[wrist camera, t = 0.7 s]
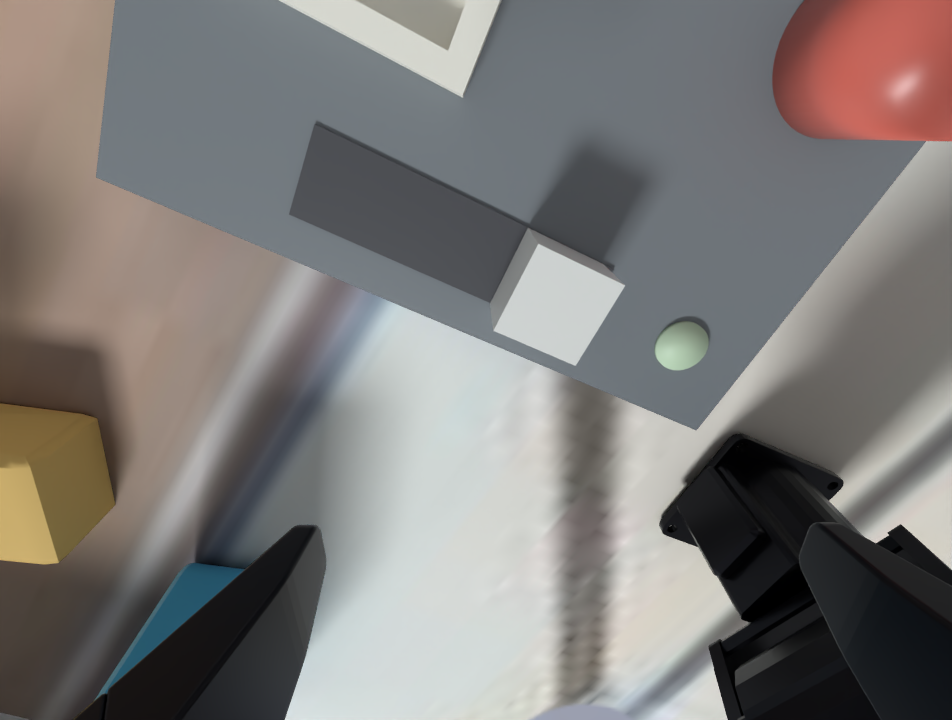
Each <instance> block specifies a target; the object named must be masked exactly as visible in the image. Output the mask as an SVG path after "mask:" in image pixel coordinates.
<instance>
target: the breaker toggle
mask: <svg viewBox="0 0 952 720" xmlns="http://www.w3.org/2000/svg"><path fill="white" fill-rule="evenodd" d="M624 287H625V285H624V284H623V283H622V282H621V281H620V280H619V279H618V278H617V277H616V276H615V275H614V274H613V273H612V272H611V271H610V270H609V269H608V268H607V267H606V266H605V265H604V264H602V263H600V262H598V261H596V260H594V259H592V258H590V257H588V256H586V255H584V254H581V253H579V252H577V251H575V250H573V249H571V248H569V247H567V246H565V245H563V244H561V243H559V242H557V241H555V240H553V239H550V238H548V237H546V236H544V235H542V234H540V233H538V232H536V231H534V230H532V229H530V228H528V229H527V231H526V233H525V235H524V237H523V239H522V241H521V243H520V245H519V247H518V249H517V251H516V253H515V255H514V257H513V259H512V261H511V263H510V265H509V267H508V269H507V271H506V273H505V275H504V277H503V279H502V281H501V283H500V285H499V287H498V289H497V291H496V293H495V295H494V297H493V299H492V301H491V303H490V308H491V316H492V324H493V331H495V332H497V333H500V334H502V335H504V336H507V337H509V338H511V339H514V340H516V341H518V342H521V343H523V344H525V345H528V346H530V347H532V348H535V349H537V350H539V351H542V352H544V353H546V354H549V355H551V356H553V357H556V358H558V359H560V360H563V361H565V362H568V363H570V364H572V365H575V366H576V364H577V363H578V361H579V360H580V358H581V356H582V355H583V353H584V352H585V350H586V348H587V347H588V345H589V343H590V342H591V340H592V339H593V337H594V335H595V334H596V332H597V331H598V329H599V327H600V326H601V324H602V322H603V321H604V319H605V318H606V316H607V314H608V313H609V311H610V310H611V308H612V306H613V305H614V303H615V301H616V300H617V298H618V297H619V295H620V293H621V292H622V290H623V288H624Z"/></svg>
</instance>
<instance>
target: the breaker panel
mask: <svg viewBox="0 0 952 720" xmlns="http://www.w3.org/2000/svg"><path fill="white" fill-rule="evenodd" d="M803 2H804V0H115V7H114V16H113V26H112V35H111V44H110V53H109V63H108V72H107V81H106V90H105V99H104V109H103V118H102V127H101V136H100V146H99V155H98V164H97V173H96V178H99V179H101V180H104V181H106V182H108V183H111V184H113V185H115V186H118V187H120V188H123V189H125V190H127V191H130V192H132V193H134V194H137V195H139V196H142V197H144V198H146V199H149V200H151V201H153V202H156V203H158V204H161V205H163V206H165V207H168V208H170V209H172V210H175V211H177V212H179V213H182V214H184V215H187V216H189V217H191V218H194V219H196V220H198V221H201V222H203V223H206V224H208V225H210V226H213V227H215V228H217V229H220V230H222V231H225V232H227V233H229V234H232V235H234V236H236V237H239V238H241V239H244V240H246V241H248V242H251V243H253V244H255V245H258V246H260V247H263V248H265V249H267V250H270V251H272V252H274V253H277V254H279V255H282V256H284V257H286V258H289V259H291V260H293V261H296V262H298V263H300V264H303V265H305V266H308V267H310V268H312V269H315V270H317V271H319V272H322V273H324V274H327V275H329V276H331V277H334V278H336V279H338V280H341V281H343V282H346V283H348V284H350V285H353V286H355V287H357V288H360V289H362V290H365V291H367V292H369V293H372V294H374V295H376V296H379V297H381V298H384V299H386V300H388V301H391V302H393V303H395V304H398V305H400V306H403V307H405V308H407V309H410V310H412V311H414V312H417V313H419V314H421V315H424V316H426V317H429V318H431V319H433V320H436V321H438V322H440V323H443V324H445V325H448V326H450V327H452V328H455V329H457V330H459V331H462V332H464V333H467V334H469V335H471V336H474V337H476V338H478V339H481V340H483V341H486V342H488V343H490V344H493V345H495V346H497V347H500V348H502V349H505V350H507V351H509V352H512V353H514V354H516V355H519V356H521V357H524V358H526V359H528V360H531V361H533V362H535V363H538V364H540V365H542V366H545V367H547V368H550V369H552V370H554V371H557V372H559V373H561V374H564V375H566V376H569V377H571V378H573V379H576V380H578V381H580V382H583V383H585V384H588V385H590V386H592V387H595V388H597V389H599V390H602V391H604V392H607V393H609V394H611V395H614V396H616V397H618V398H621V399H623V400H626V401H628V402H630V403H633V404H635V405H637V406H640V407H642V408H645V409H647V410H649V411H652V412H654V413H656V414H659V415H661V416H663V417H666V418H668V419H671V420H673V421H675V422H678V423H680V424H682V425H685V426H687V427H690V428H692V429H694V430H697V429H698V428H699V426H700V425H701V424H702V423H703V421H704V420H705V419H706V418H707V416H708V415H709V414H710V413H711V411H712V410H713V409H714V408H715V406H716V405H717V404H718V403H719V401H720V400H721V399H722V398H723V396H724V395H725V394H726V392H727V391H728V390H729V389H730V387H731V386H732V385H733V384H734V382H735V381H736V380H737V379H738V377H739V376H740V375H741V374H742V372H743V371H744V370H745V369H746V367H747V366H748V365H749V364H750V362H751V361H752V360H753V358H754V357H755V356H756V355H757V353H758V352H759V351H760V350H761V348H762V347H763V346H764V345H765V343H766V342H767V341H768V340H769V338H770V337H771V336H772V335H773V333H774V332H775V331H776V330H777V328H778V327H779V326H780V325H781V323H782V322H783V321H784V319H785V318H786V317H787V316H788V314H789V313H790V312H791V311H792V309H793V308H794V307H795V306H796V304H797V303H798V302H799V301H800V299H801V298H802V297H803V296H804V294H805V293H806V292H807V291H808V289H809V288H810V287H811V285H812V284H813V283H814V282H815V280H816V279H817V278H818V277H819V275H820V274H821V273H822V272H823V270H824V269H825V268H826V267H827V265H828V264H829V263H830V262H831V260H832V259H833V258H834V257H835V255H836V254H837V253H838V251H839V250H840V249H841V248H842V246H843V245H844V244H845V243H846V241H847V240H848V239H849V238H850V236H851V235H852V234H853V233H854V231H855V230H856V229H857V228H858V226H859V225H860V224H861V223H862V221H863V220H864V219H865V218H866V216H867V215H868V214H869V212H870V211H871V210H872V209H873V207H874V206H875V205H876V204H877V202H878V201H879V200H880V199H881V197H882V196H883V195H884V194H885V192H886V191H887V190H888V189H889V187H890V186H891V185H892V184H893V182H894V181H895V180H896V178H897V177H898V176H899V175H900V173H901V172H902V171H903V170H904V168H905V167H906V166H907V165H908V163H909V162H910V161H911V160H912V158H913V157H914V156H915V155H916V153H917V152H918V151H919V150H920V148H921V147H922V146H923V144H924V143H925V142H926V141H903V140H840V139H816V138H811V137H808V136H805V135H803V134H801V133H798V132H797V131H795V130H794V129H793V128H791V127H790V126H789V125H788V124H787V123H786V121H785V120H784V119H783V117H782V116H781V114H780V112H779V110H778V108H777V106H776V102H775V99H774V94H773V87H772V74H773V64H774V60H775V55H776V51H777V48H778V45H779V42H780V40H781V37H782V35H783V33H784V30H785V28H786V27H787V25H788V23H789V21H790V19H791V18H792V16H793V15H794V13H795V12H796V10H797V9H798V8H799V6H800V5H801V4H802V3H803ZM528 228H530V229H532V230H534V231H536V232H538V233H540V234H542V235H544V236H546V237H548V238H550V239H553V240H555V241H557V242H559V243H561V244H563V245H565V246H567V247H569V248H571V249H573V250H575V251H577V252H579V253H581V254H584V255H586V256H588V257H590V258H592V259H594V260H596V261H598V262H600V263H602V264H604V265H605V266H606V267H607V268H608V269H609V270H610V271H611V272H612V273H613V274H614V275H615V276H616V277H617V278H618V279H619V280H620V281H621V282H622V283H623V284H624V285H625V287H624V288H623V290H622V292H621V293H620V295H619V297H618V298H617V300H616V301H615V303H614V305H613V306H612V308H611V310H610V311H609V313H608V314H607V316H606V318H605V319H604V321H603V322H602V324H601V326H600V327H599V329H598V331H597V332H596V334H595V335H594V337H593V339H592V340H591V342H590V343H589V345H588V347H587V348H586V350H585V352H584V353H583V355H582V356H581V358H580V360H579V361H578V363H577V364H576V366H575V365H572V364H570V363H568V362H565V361H563V360H560V359H558V358H556V357H553V356H551V355H549V354H546V353H544V352H542V351H539V350H537V349H535V348H532V347H530V346H528V345H525V344H523V343H521V342H518V341H516V340H514V339H511V338H509V337H507V336H504V335H502V334H500V333H497V332H495V331H493V324H492V316H491V308H490V303H491V301H492V299H493V297H494V295H495V293H496V291H497V289H498V287H499V285H500V283H501V281H502V279H503V277H504V275H505V273H506V271H507V269H508V267H509V265H510V263H511V261H512V259H513V257H514V255H515V253H516V251H517V249H518V247H519V245H520V243H521V241H522V239H523V237H524V235H525V233H526V231H527V229H528Z"/></svg>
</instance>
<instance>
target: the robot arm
mask: <svg viewBox="0 0 952 720" xmlns="http://www.w3.org/2000/svg"><path fill="white" fill-rule="evenodd" d="M741 443H742V445H740V446H738V445H739V444H741ZM737 446H738V447H737ZM842 487H843V480H842V479H841V478H840V477H839V476H838V475H836V474H835V473H833V472H831V471H829V470H826V469H824V468H822V467H819V466H817V465H815V464H812V463H810V462H808V461H805V460H803V459H801V458H798V457H796V456H794V455H791V454H789V453H787V452H784V451H782V450H780V449H777V448H775V447H773V446H770V445H768V444H766V443H764V442H761V441H759V440H757V439H754V438H752V437H750V436H747V435H745V434H736V435H733V436H732V437H731V438H729V439H728V441H727V442H726V443H725V444H724V445H723V447H722V448H721V449H720V450H719V451H718V453H717V454H716V455H715V456H714V457H713V459H712V460H711V461H710V462H709V463H708V464H707V466H706V467H705V468H704V469H703V470H702V472H701V473H700V474H699V475H698V476H697V478H696V479H695V480H694V481H693V482H692V484H691V485H690V486H689V487H688V488H687V490H686V491H685V492H684V493H683V494H682V496H681V497H680V498H679V499H678V500H677V501H676V503H675V504H674V505H673V506H672V507H671V509H670V510H669V511H668V512H667V513H666V515H665V516H664V517H663V518H662V519H661V521H660V523H659V526H660V528H661V530H662V532H663V534H665V535H666V536H669V537H672V538H675V539H677V540H680V541H683V542H686V543H688V544H691V545H694V546H697V547H699V549H700V551H701V552H702V554H703V556H704V558H705V560H706V561H707V563H708V565H709V567H710V569H711V570H712V572H713V574H714V575H716V576H717V577H718V579H719V580H720V582H721V584H722V586H723V587H724V589H725V591H726V593H727V595H728V596H729V598H730V600H731V602H732V603H733V605H734V607H735V609H736V611H737V612H738V614H739V616H740V618H741V619H742V620H744V621H747V622H748V623H749V624H747V625H746V626H744V627H743V628H741V629H739V630H738V631H736V632H735V633H733V634H731V635H730V636H728V637H727V638H725V639H723V640H721V639H718V640H717V641H715V642H714V643H712V644H710V645H709V651H710V655H711V658H712V662H713V666H714V671H715V675H716V678H717V682H718V686H719V689H720V693H721V697H722V700H723V704H724V708H725V711H726V715H727V718H728V720H952V570H951V569H950V568H949V567H948V566H947V565H946V564H945V563H944V562H942V561H941V560H940V559H939V558H938V557H937V556H936V555H935V554H933V553H932V552H931V551H930V550H929V549H928V548H927V547H926V546H925V545H923V544H922V543H921V542H920V541H919V540H918V539H917V538H916V537H914V536H913V535H912V534H911V533H910V532H909V531H908V530H907V529H906V528H904V527H903V526H902V525H901V524H900V525H899V526H897V527H896V528H894V529H892V530H891V531H889V532H888V534H889V536H887V537H886V538H884V539H882V540H881V541H879V542H878V543H874V542H872V541H870V540H869V539H867V538H865V537H864V536H863V535H862V534H861V533H860V532H859V531H858V530H857V529H856V528H855V527H854V526H853V525H852V524H851V523H850V522H849V521H848V520H847V519H846V518H845V517H844V516H843V515H842V514H841V513H840V512H839V511H838V510H837V509H836V508H835V507H834V506H833V505H832V504H831V503H830V502H829V500H830V499H831V498H832V497H833V496H834V495H835V494H836V493H837V492H838V491H839V490H840V489H841V488H842ZM671 525H672V526H671ZM325 570H326V555H325V550H324V545H323V540H322V535H321V530H320V528H319V527H318V526H317V525H297V526H295V527H293V528H292V529H291V530H290V531H288V532H287V533H286V534H285V535H284V536H283V537H282V538H280V539H279V540H278V541H277V542H276V543H275V544H274V545H272V546H271V547H270V548H269V549H268V550H267V551H266V552H264V553H263V554H262V555H261V556H260V557H259V558H258V559H256V560H255V561H254V562H253V563H252V564H251V565H249V566H248V567H247V568H246V569H245V570H244V571H243V572H241V573H240V574H239V575H238V576H237V577H236V578H235V579H233V580H232V581H231V582H230V583H229V584H228V585H227V586H225V587H224V588H223V589H222V590H221V591H220V592H219V593H217V594H216V595H215V596H214V597H213V598H212V599H211V600H209V601H208V602H207V603H206V604H205V605H204V606H203V607H201V608H200V609H199V610H198V611H197V612H196V613H195V614H193V615H192V616H191V617H190V618H189V619H188V620H187V621H185V622H184V623H183V624H182V625H181V626H180V627H178V628H177V629H176V630H175V631H174V632H173V633H172V634H170V635H169V636H168V637H167V638H166V639H165V640H164V641H162V642H161V643H160V644H159V645H158V646H157V647H156V648H154V649H153V650H152V651H151V652H150V653H149V654H148V655H146V656H145V657H144V658H143V659H142V660H141V661H140V662H138V663H137V664H136V665H135V666H134V667H133V668H132V669H130V670H129V671H128V672H127V673H126V674H125V675H124V676H122V677H121V678H120V679H119V680H118V681H117V682H116V683H114V684H113V685H112V686H111V687H110V688H109V689H108V692H107V694H106V693H104V694H102V695H100V696H99V697H98V698H97V699H96V700H95V701H93V702H92V703H91V704H90V705H89V706H88V707H87V708H85V709H84V710H83V711H82V712H81V713H80V714H79V715H77V716H76V717H75V718H74V719H73V720H285V717H286V714H287V711H288V708H289V705H290V702H291V699H292V696H293V693H294V690H295V687H296V684H297V681H298V678H299V675H300V672H301V669H302V666H303V663H304V660H305V656H306V652H307V648H308V644H309V640H310V636H311V631H312V627H313V623H314V618H315V614H316V610H317V605H318V601H319V596H320V592H321V588H322V583H323V579H324V574H325Z"/></svg>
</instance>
